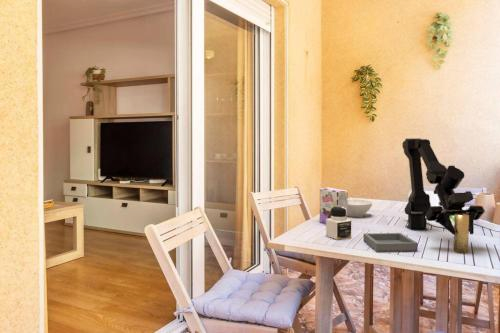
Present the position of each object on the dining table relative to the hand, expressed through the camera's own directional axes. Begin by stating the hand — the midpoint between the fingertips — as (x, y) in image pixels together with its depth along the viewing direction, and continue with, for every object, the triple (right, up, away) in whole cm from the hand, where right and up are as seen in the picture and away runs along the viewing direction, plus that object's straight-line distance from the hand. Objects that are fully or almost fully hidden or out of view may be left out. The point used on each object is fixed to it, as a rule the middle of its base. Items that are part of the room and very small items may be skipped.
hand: (463, 233), depth 133 cm
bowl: (-19, -2, +64) cm, 67 cm away
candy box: (-35, -4, +45) cm, 57 cm away
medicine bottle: (-37, -5, +23) cm, 44 cm away
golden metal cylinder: (0, -6, +2) cm, 7 cm away
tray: (-22, -6, +9) cm, 25 cm away
